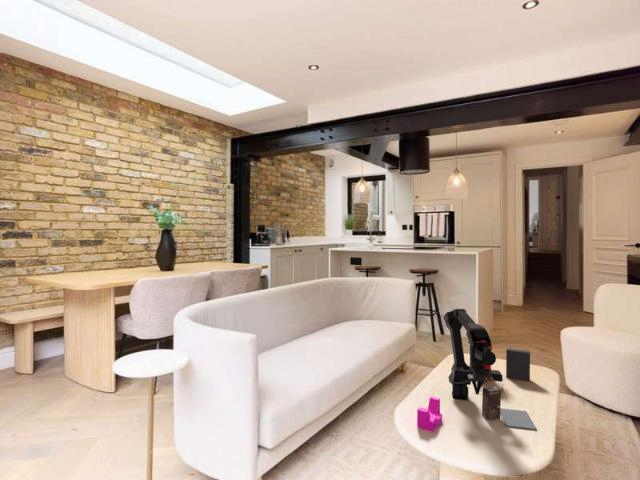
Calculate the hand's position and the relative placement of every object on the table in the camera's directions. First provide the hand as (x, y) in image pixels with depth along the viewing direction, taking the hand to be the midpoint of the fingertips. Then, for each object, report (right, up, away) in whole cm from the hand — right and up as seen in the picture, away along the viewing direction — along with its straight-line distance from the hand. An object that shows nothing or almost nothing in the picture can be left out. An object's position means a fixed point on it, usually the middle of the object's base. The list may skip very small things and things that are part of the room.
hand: (476, 394), depth 157 cm
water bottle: (+19, -9, +41) cm, 46 cm away
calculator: (+38, -9, +40) cm, 56 cm away
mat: (+15, -9, -3) cm, 18 cm away
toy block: (-21, -10, -6) cm, 24 cm away
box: (+5, -9, -1) cm, 11 cm away
